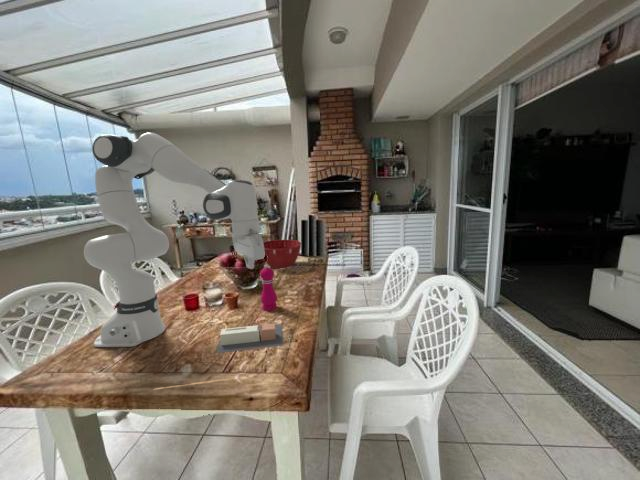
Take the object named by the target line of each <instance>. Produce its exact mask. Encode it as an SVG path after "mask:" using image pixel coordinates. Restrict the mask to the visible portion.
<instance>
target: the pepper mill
mask: <svg viewBox="0 0 640 480" xmlns="http://www.w3.org/2000/svg"><path fill="white" fill-rule="evenodd" d="M259 276H260V278H261V283H262V292H261V296H260V302H261V303H262V310H263V311H265V312H269V311H275V310H276V309H277V300H278V295H277V293H276V291H275V289H274V285H273V283H274V276H275V271H274V269H273V268H272V267H271V268H270V266H269V265H268V264H265V265H264V268H262V269H261V270H260V273H259Z"/></svg>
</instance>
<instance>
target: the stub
mask: <svg viewBox="0 0 640 480" xmlns="http://www.w3.org/2000/svg"><path fill="white" fill-rule="evenodd" d="M275 325H276V324H275V323H265V324H260V327H261V328H260V333H261V336H260V337H261V341H264V340H265V341H266V340H272V339H275V340H276V333H275V327H276V326H275Z"/></svg>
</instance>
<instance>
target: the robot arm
mask: <svg viewBox="0 0 640 480" xmlns="http://www.w3.org/2000/svg"><path fill="white" fill-rule="evenodd" d="M91 151H92V154H93V156H94V158H95V159H96V160H97V161H98V162H99V163H101V164H102V166H100V167H98V168H97V169H96V170H95V174H94V177H95V178H94V181H95V183H94V184H95V190H96V195H97V200H98V203H99V207H100V212H101V216H102V218H103V219H104V220H106V222H108V223H111V224H112V225H116V226H119V227H122V228H123V229H124V230H125V231H126V232H122V233H113V234H108V235H107V234H106V235H102V236H98V237H95V238H92V239H89V240H88V241H87V242H86V244H85V245H84V248H83V257H84V259H85V261H86V262H87V263H88V265H90V266H92V267H93V268H97V269H99V270H101V271H103V272H104V273H107V274H108V275H109V276H110V277H111V278H112V280H113V281H114V283H115V285H116V288H117V291H118V296H119V301H118V302H117V303H115V305H114V306H113V310H116V311H115V313H113V314H112V315H111V316H110V317H109V318H108V319H106V321H105V322H104V323H103V324H102V325H101V327H100V335H98V336H97V338H95V340H94V342H93V346H94V347H95V348H109V347H110V348H115V347H117V348H119V347H120V348H123V347H124V348H125V347H132V348H133V347H136V346H137V345H140V344H142V343H144V342H146V341H147V342H148V341H149V340H152V339H153V338H156V337H158V336H160V335H161V334H162V333H164V332H165V330H166V326H165V323H164V322H163V319H162V317H161V313H160V310H159V308H160V307H159V305H160V304H159V300H158V295H157V293H156V289H155V284H154V277H153V276H152V275H151V274H150V273H149V272H147V271H145V270H139V269H135V268H133V266H132V264H134V263H137V262H141V261H143V262H144V261H148V260H153V259H156V258H158V257H162V256H163V255H166V254H167V252H168V250H169V248H170V239H169V237H168V236H167V235H166V233H165V232H163V231H162V230H160V229H158V228H156V227H155V226H153V225H151V223H149V222H148V221H147V220H146V219H145V217H144V216H143V214H142V213H141V211H140V208H139V205H138V202H137V199H136V194H135V190H134V186H133V180H134V179H136V180H140V179H142V178H144V177H145V176H148V175H151V174H152V173H154V172H156V173H157V174H159V176H161V177H163V178H165V179H166V180H168V181H170V182H174V183H179V184H186V185H191V186H195V187H199V188H200V189H203V190H204V191H206V192H207V194H206V195H205V196H204V199H203V202H202V209H203V211H204V214H205V215H206V216H207V217H208V218H209V219H211V220H213V221H215V220H216V221H222V220H228V219H231V225H230V226H229V233H230V234H231V240H232V245H233V249H234V251H235V252H236V253H238V254H240V255H242V256H243V259H244V262H245V266H246V268H247V269H250V270H253V269H255V261H258V260H264V257H265V250H264V244H263V242H264V240H263V236H261V235H260V234H259V233H261V231H260V229H261V228H260V220H259V215H258V201H257V200H258V199H257V193H256V189H255V186H254V184H253V183H252V182H251V181H248V180H244V179H243V180H242V179H231V180H229V181H228V183H227V184H226V183H224V182H223V181H222V180H220V179H219V178H218V177H216V176H215V175H214V174H212V173H211V172H209V170H206V169H205V168H204V167H202V166H201V165H200V164H198V163H197V162H196V161H194V160H193V159H192V158H190V156H188V155H187V154H186V153H185V152H183V151H182V150H181V149H180V148H178V147H177V146H176V145H174V144H173V143H172V142H171V141H169V140H168V139H166V138H165V137H163V136H161V135H159V134H157V133H155V132H146V133H143V134H141V135H140V136H139V137H138V138H137V139H136V140H133V139H130V138H129V137H128V136H123V135H117V134H110V133H107V134H105V133H104V134H100V135H99V136H97V137H96V138H95V140H94V141H93V144H92V150H91Z"/></svg>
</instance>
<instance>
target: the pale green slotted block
mask: <svg viewBox="0 0 640 480" xmlns="http://www.w3.org/2000/svg"><path fill="white" fill-rule="evenodd" d="M260 327H261V325H260V324H257V325H248V326H247V325H246V326H240V327H230V328H221V331H220V334H219V338H220V339H219V341H220V340H221V341H220V342H221V344H220V345H228V346H229V345H230V344H235V345H236V344H238V345H239V343H247V342H252V343H253V342H256V341H259V342H260V337H261V336H260Z"/></svg>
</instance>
